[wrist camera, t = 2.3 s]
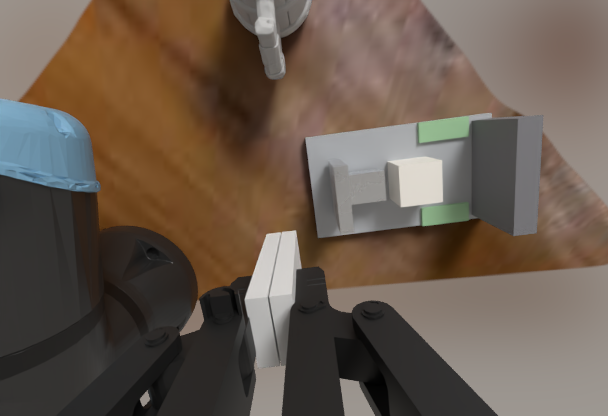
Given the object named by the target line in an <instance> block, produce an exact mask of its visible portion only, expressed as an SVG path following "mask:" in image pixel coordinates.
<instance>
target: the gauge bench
mask: <svg viewBox="0 0 608 416" xmlns="http://www.w3.org/2000/svg"><path fill="white" fill-rule="evenodd" d="M542 130H543V115H537V116H518V117H500V118H492V113H484V114H477V115H470V116H462V117H455V118H447V119H440V120H432V121H425V122H418V123H410V124H403V125H395V126H388V127H380V128H373V129H366V130H358V131H351V132H343V133H336V134H329V135H321V136H314V137H306V138H305V139H306V147H307V155H308V163H309V171H310V179H311V187H312V194H313V202H314V210H315V218H316V226H317V234H318V238H323V237H331V236H339V235H347V234H340V231H339V228H338V225H337V223H336V220H335V217H334V211H333V202H332V193H331V184H330V175H329V166H328V160H334V159H340V160H342V161H343V162H344V163H345V164H347V165H348V172H354V171H361V170H369V169H376V168H380V169H382V170H384V173H385V188H386V201H378V202H370V203H363V204H355V205H352V215H353V226H354V233H348V234H355V233H363V232H371V231H379V230H387V229H395V228H403V227H411V226H419V225H422V226H429V225H437V224H445V223H453V222H461V221H469V219H475V218H479V219H481V220H483V221H485V222H487V223H489V224H491V225H493V226H495V227H497V228H499V229H501V230H503V231H505V232H507V233H509V234H511V235H513V236H517V235H525V234H533V233H537V217H538V200H539V182H540V165H541V148H542ZM425 156H426V157H430V158H435V159H439V160H442V178H443V202H440V203H432V204H424V205H416V206H409V207H400V206H399V205H397V204H396V203H395V202H394V201H392V200H391V199H390V197H389V181H388V166H387V161H394V160H402V159H410V158H417V157H425Z"/></svg>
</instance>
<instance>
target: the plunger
mask: <svg viewBox="0 0 608 416" xmlns="http://www.w3.org/2000/svg"><path fill="white" fill-rule="evenodd" d="M328 166H329V175H330V184H331V193H332V202H333V211H334V217H335V220H336V223H337V225H338V228H339V231H340V234H348V233H354V226H353V215H352V205H355V204H363V203H370V202H378V201H386V188H385V173H384V170H382V169H380V168H376V169H369V170H361V171H354V172H348V165H347V164H345V163H344V162H343V161H342V160H340V159H334V160H328Z"/></svg>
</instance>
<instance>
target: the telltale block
mask: <svg viewBox="0 0 608 416" xmlns="http://www.w3.org/2000/svg"><path fill="white" fill-rule="evenodd" d="M387 166H388V181H389V197H390V199H391V200H392V201H394V202H395V203H396V204H397V205H399V206H400V207H409V206H416V205H424V204H432V203H440V202H443V178H442V160H439V159H435V158H430V157H426V156H425V157H417V158H410V159H402V160H394V161H387Z"/></svg>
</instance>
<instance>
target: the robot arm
mask: <svg viewBox="0 0 608 416" xmlns="http://www.w3.org/2000/svg"><path fill="white" fill-rule="evenodd" d="M99 191H100V183H99V182H98V181H97V180H96V173H95V166H94V159H93V151H92V144H91V139H90V136H89V133H88V131H87V130H86V128H85V127H84V126H83V124H82V123H81V122H80V121H78V120H77V119H76V118H74V117H73V116H71V115H70V114H68V113H65V112H63V111H60V110H56V109H52V108H47V107H42V106H37V105H32V104H27V103H22V102H16V101H11V100H6V99H1V98H0V416H249V415H250V410H251V405H252V399H253V393H254V388H255V382H256V375H255V370H254V362H255V357H256V360H257V365H258V368H266V367H275V366H279V365H280V361H281V365H282V366H284V365H286V370H285V383H284V395H283V407H282V416H344V408H343V402H342V393H341V386H340V380H339V378H342V379H348V380H354V381H359V384H360V387H361V389H362V391H363V393H364V395H365V397H366V399H367V401H368V403H369V405H370V407H371V408H372V410H373V412H374V414H375V416H498V415H497V414H496V413H495V412H494V411H493V410H492V409H491V408H490V407H489V406H488V405H487V404H486V403H485V402H484V401H483V400H482V399H481V398H480V397H479V396H478V395H477V394H476V393H475V392H474V391H473V389H472V388H471V387H469V386H468V384H467V383H466V382H465V381H464V380H463V379H462V378H461V377H460V376H459V375H458V374H457V373H456V372H455V371H454V370H453V369H452V368H451V367H450V366H449V365H448V364H447V363H446V362H445V361H444V360H443V359H442V358H441V357H440V356H439V355H438V354H437V353H436V352H435V351H434V349H432V347H430V346H429V345H428V343H426V342H425V340H424V339H423V338H422V337H421V336H420V335H419V334H418V333H417V332H416V331H415V330H414V329H413V328H412V327H411V326H410V325H409V324H408V323H407V322H406V321H405V320H404V319H403V318H402V317H401V316H400V315H399V314H398V313H397V312H396V311H395V310H394V308H392V307H391V306H390V305H388V304H387V303H384V302H380V301H366V302H362V303H360V304H358V305H356V306H355V307H354V308H353V310H352V313H346V312H341V311H338V310H335V309H334V308H332V307H331V306H330V304H329V302H328V295H327V288H326V282H325V275H324V271H323V270H322V269H321V268H320V267H312V268H304V269H302V268H301V261H300V255H299V248H298V241H297V234H296V231H288V232H282V235H281V232H280V233H272V234H267V235H266V238H265V241H264V244H263V247H262V250H261V252H260V255H259V258H258V261H257V264H256V267H255V270H254V273H253V276H246V277H238V278H237V279H236V280H235V281H234V282H233V283H231V285H230V286H223V287H219V288H215V289H212V290H210V291H208V292H206V293H205V294H203V295H202V296H201V297H200V298H199V300H200V304H201V308H202V312H203V317H204V322H203V324H202V326H201V328H200V330H197V331H195V332H192V333H189V334H186V335H182V336H180V333H179V332H180V331H181V330H182V329H183V327H184V326H185V324H186V323H187V321H188V319H189V318H190V316H191V315H192V313H193V310H194V308H195V305H196V302H197V296H198V286H197V280H196V276H195V273H194V270H193V268H192V266H191V264H190V262H189V260H188V259H187V257H186V256H185V255H184V253H183V252H182V251H181V250H180V249H179V248H178V247H177V246H176V245H175V244H174V243H172V242H171V241H170V240H168V239H167V238H165V237H164V236H162V235H160V234H158V233H156V232H153V231H151V230H148V229H145V228H141V227H135V226H116V227H111V228H107V229H104V230H101V231H99V218H98V202H97V192H99ZM147 390H148V394H149V397H150V401H149V402H148V403H147V404H146V405H145V406H144V407H143V406H142V405H141V402H140V398H141V397H142V395H143V394H144V393H145V392H146V391H147Z"/></svg>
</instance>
